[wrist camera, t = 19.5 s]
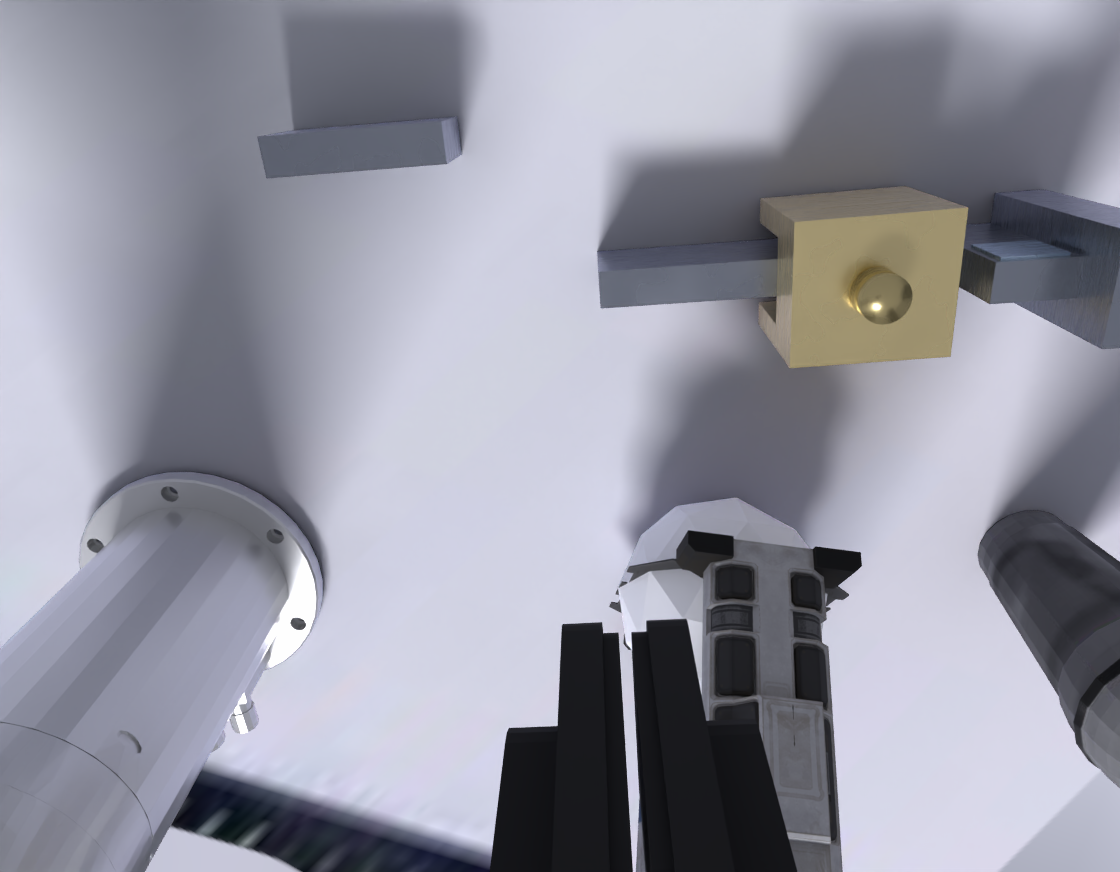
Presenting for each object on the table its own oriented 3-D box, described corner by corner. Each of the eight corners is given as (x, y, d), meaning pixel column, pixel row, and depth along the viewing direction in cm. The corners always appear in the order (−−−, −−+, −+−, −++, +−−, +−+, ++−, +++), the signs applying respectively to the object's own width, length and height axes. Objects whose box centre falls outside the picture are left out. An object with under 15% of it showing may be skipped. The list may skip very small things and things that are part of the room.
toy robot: (660, 399, 31) (627, 1105, 21) (901, 431, 32) (989, 1144, 21) (600, 554, 47) (564, 1002, 37) (762, 575, 47) (772, 1026, 37)
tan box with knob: (894, 313, 35) (964, 367, 29) (758, 323, 36) (797, 379, 29) (905, 185, 33) (984, 212, 27) (760, 198, 33) (803, 228, 27)
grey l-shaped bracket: (1027, 282, 35) (1162, 345, 27) (600, 311, 36) (605, 380, 28) (1043, 189, 33) (1191, 225, 25) (595, 222, 35) (598, 268, 26)
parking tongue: (461, 154, 34) (446, 163, 30) (300, 167, 34) (266, 178, 30) (457, 116, 33) (441, 121, 29) (293, 130, 33) (257, 136, 30)
